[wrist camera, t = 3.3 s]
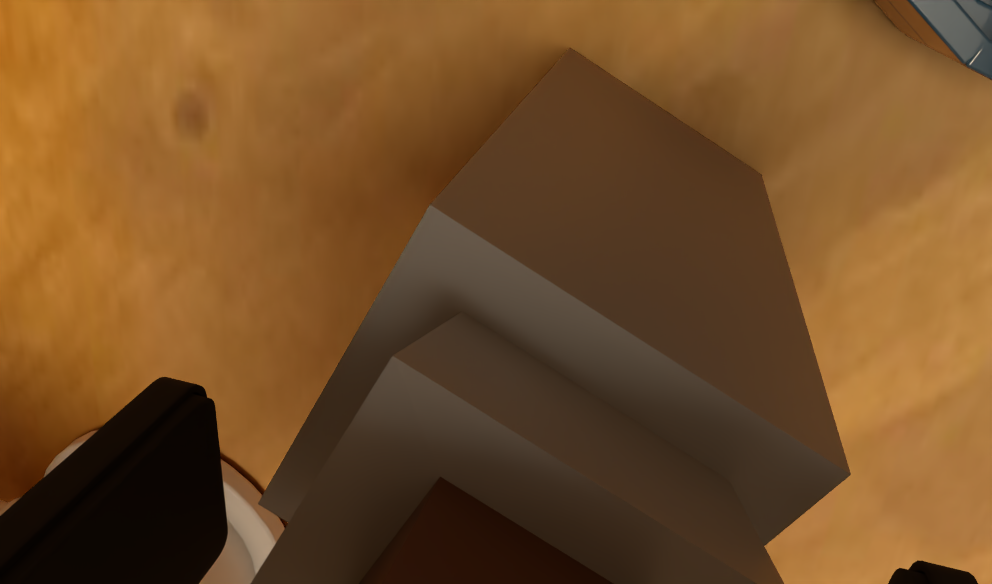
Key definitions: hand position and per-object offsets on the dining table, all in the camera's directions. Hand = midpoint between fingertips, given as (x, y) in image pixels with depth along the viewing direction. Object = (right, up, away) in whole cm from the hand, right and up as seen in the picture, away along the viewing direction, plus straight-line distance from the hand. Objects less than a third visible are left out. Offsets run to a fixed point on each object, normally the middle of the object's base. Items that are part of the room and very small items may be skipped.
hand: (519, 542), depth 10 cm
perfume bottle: (+3, +6, +13) cm, 15 cm away
